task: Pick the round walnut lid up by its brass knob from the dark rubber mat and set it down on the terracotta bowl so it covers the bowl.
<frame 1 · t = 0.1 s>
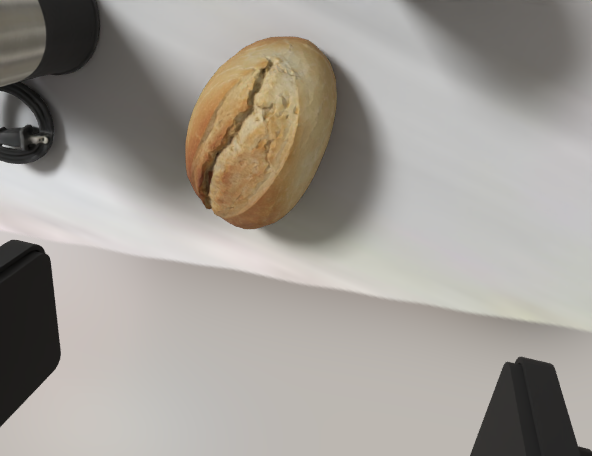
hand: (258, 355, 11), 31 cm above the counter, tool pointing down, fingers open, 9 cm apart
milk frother: (39, 60, 44), on the counter
bread roll: (271, 127, 42), on the counter
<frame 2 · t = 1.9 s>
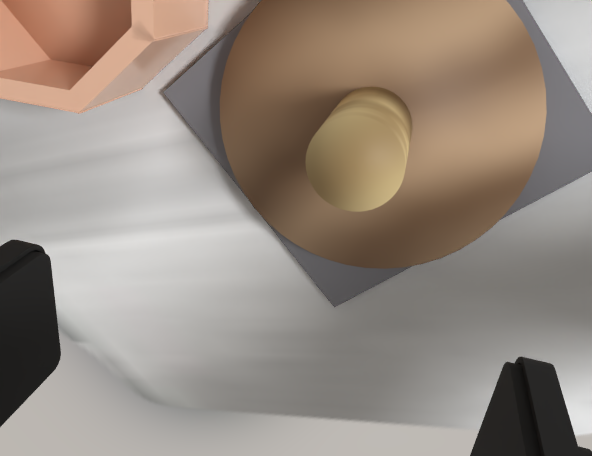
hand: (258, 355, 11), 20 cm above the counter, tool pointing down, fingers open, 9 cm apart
mat: (374, 120, 28), on the counter
lid: (373, 122, 28), resting on mat
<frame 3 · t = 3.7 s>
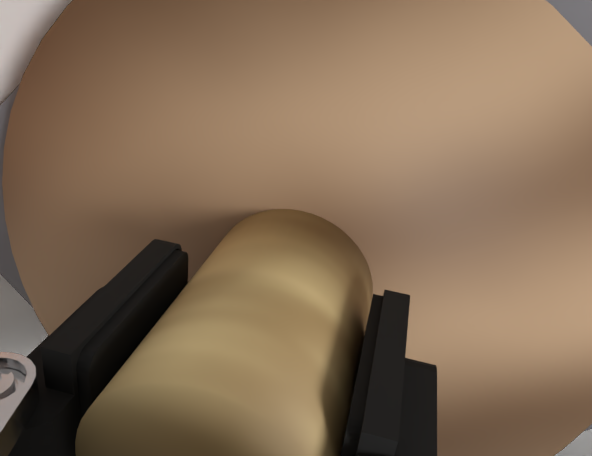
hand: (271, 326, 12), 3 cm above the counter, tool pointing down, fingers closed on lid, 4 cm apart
mat: (304, 255, 15), on the counter
lid: (300, 264, 14), resting on mat, touching gripper
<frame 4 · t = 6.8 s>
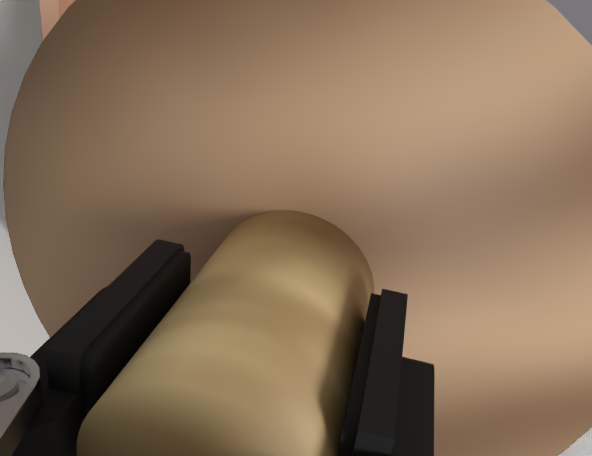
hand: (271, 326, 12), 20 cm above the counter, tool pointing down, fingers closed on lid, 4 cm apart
mat: (488, 178, 29), on the counter
bowl: (219, 15, 29), on the counter
lid: (301, 265, 14), point 17 cm above the counter, touching gripper
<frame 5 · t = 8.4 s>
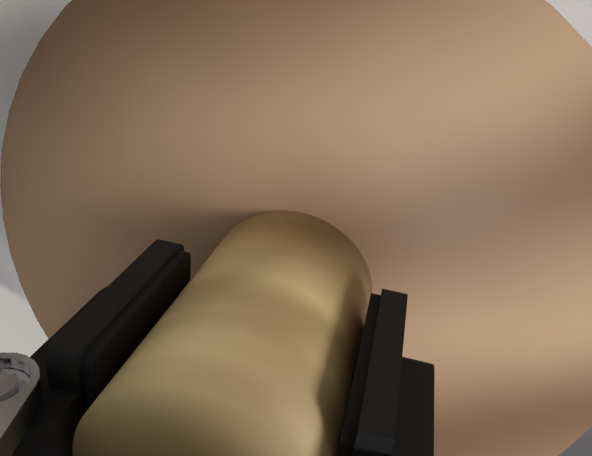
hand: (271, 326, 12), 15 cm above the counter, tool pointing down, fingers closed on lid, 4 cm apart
lid: (299, 265, 14), point 12 cm above the counter, touching gripper
when the fingers open (10 cm above the counter, at t = 9.4 s): lid drops 1 cm, resting on bowl.
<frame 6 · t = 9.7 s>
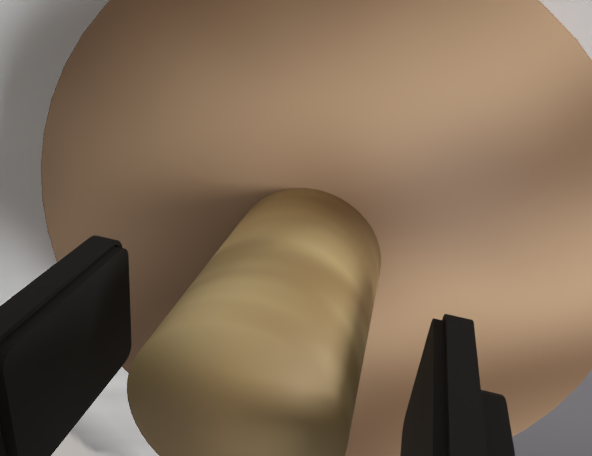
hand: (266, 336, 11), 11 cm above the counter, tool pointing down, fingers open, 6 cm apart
lid: (314, 240, 15), point 6 cm above the counter, touching bowl
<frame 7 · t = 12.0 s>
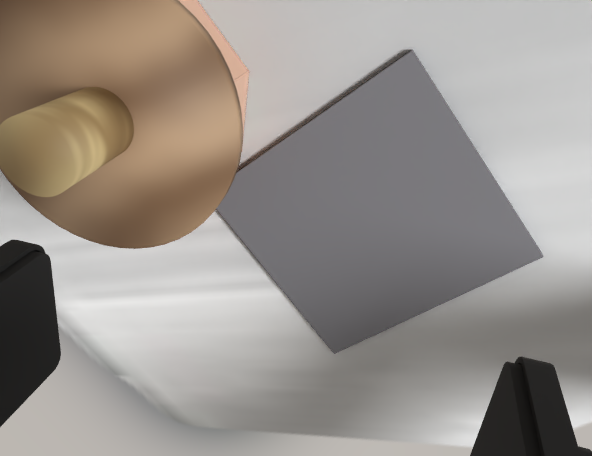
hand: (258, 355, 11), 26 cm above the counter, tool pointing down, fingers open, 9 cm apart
mat: (368, 221, 37), on the counter
bowl: (152, 94, 36), on the counter, touching lid
lid: (109, 118, 31), point 6 cm above the counter, touching bowl
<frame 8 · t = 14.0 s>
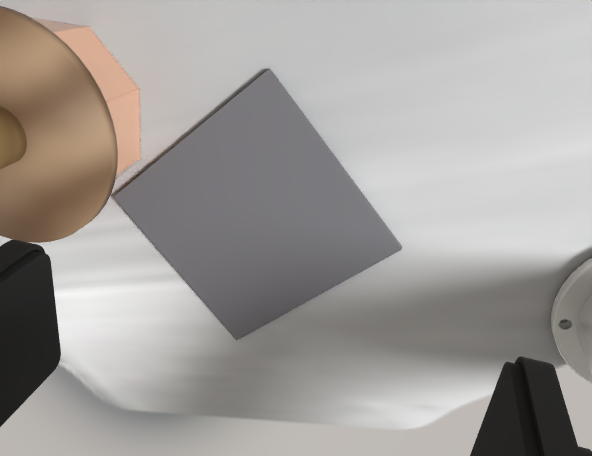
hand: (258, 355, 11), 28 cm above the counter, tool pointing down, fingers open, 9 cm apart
mat: (252, 219, 42), on the counter
bowl: (62, 110, 42), on the counter, touching lid
lid: (10, 130, 37), point 6 cm above the counter, touching bowl
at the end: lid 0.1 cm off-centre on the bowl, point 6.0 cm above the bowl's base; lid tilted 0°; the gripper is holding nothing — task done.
